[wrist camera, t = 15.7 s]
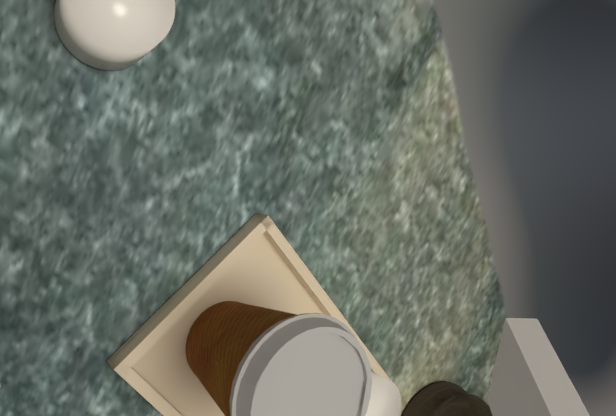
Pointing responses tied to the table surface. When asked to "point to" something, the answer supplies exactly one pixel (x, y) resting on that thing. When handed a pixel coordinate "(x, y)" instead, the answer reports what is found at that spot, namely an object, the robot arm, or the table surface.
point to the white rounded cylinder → (383, 397)
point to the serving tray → (205, 293)
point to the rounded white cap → (112, 29)
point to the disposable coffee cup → (278, 362)
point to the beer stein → (446, 402)
